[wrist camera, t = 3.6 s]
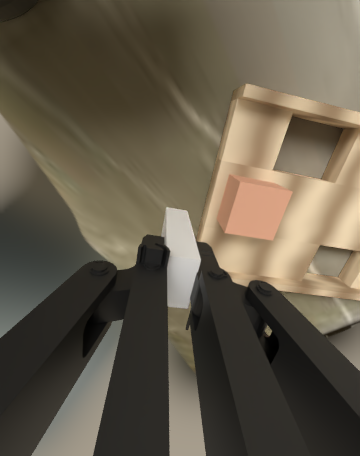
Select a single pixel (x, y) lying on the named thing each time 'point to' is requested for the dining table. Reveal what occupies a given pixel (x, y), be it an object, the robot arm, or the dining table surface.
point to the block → (252, 207)
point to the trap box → (299, 202)
